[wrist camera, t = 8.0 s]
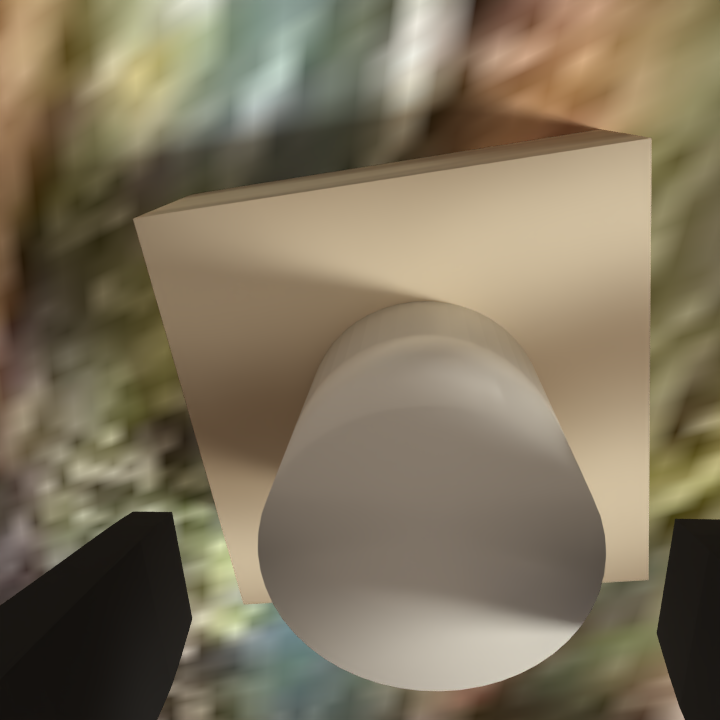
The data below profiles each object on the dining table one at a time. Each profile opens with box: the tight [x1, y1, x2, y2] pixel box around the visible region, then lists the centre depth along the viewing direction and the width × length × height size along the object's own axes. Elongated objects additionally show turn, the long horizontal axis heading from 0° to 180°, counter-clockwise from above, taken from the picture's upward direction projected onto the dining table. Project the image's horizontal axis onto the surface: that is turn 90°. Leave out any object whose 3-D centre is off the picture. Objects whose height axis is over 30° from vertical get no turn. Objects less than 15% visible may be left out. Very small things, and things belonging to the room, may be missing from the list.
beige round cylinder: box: [258, 301, 606, 691], centre depth 12 cm, size 5×5×5 cm
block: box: [133, 129, 651, 604], centre depth 16 cm, size 10×10×4 cm
